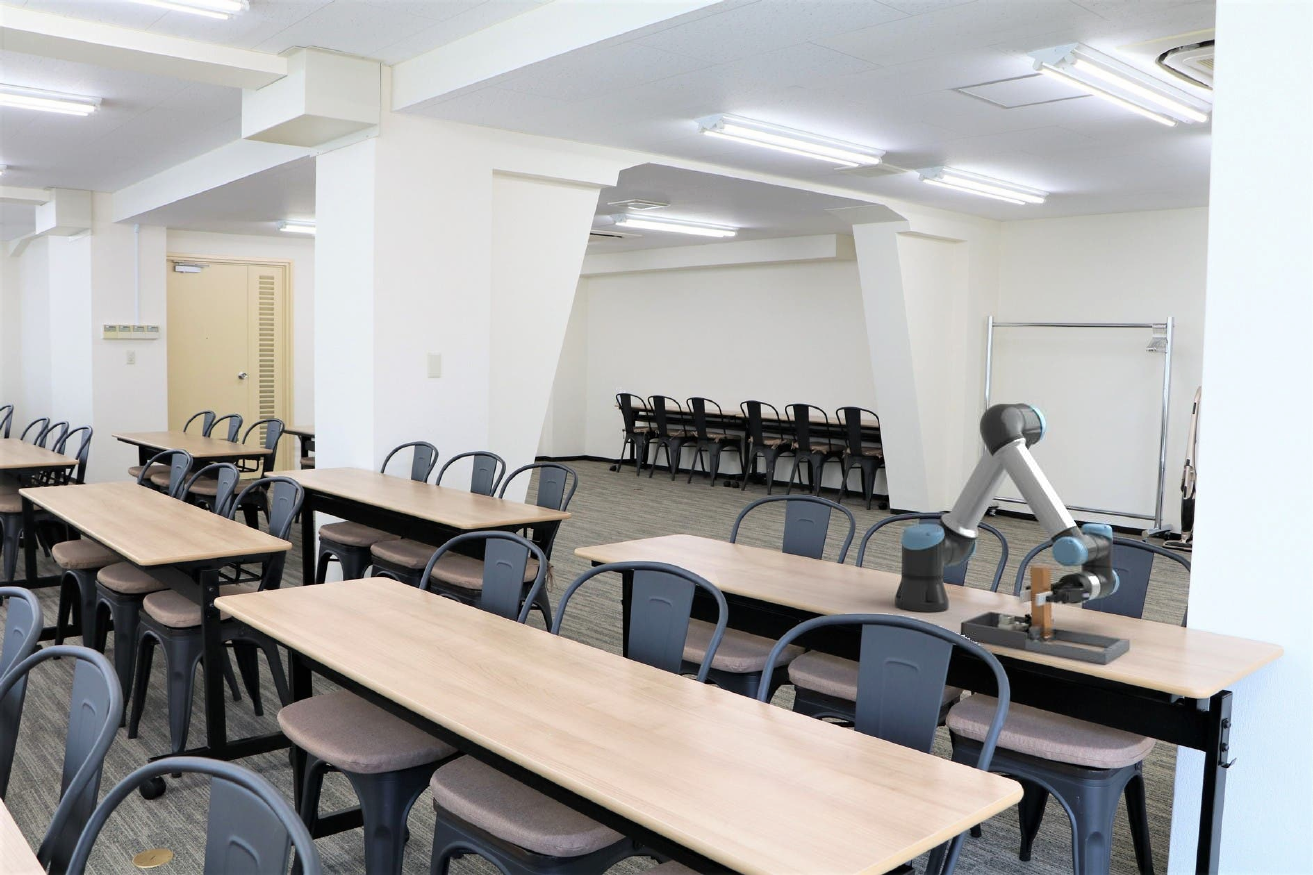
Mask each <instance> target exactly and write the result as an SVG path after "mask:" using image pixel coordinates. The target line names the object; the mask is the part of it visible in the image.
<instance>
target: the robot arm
mask: <svg viewBox="0 0 1313 875" xmlns="http://www.w3.org/2000/svg"><path fill="white" fill-rule="evenodd" d="M979 421H980V422H979V432H980V436H981V440H982V441H983V443H984V445H985V450H984V452H983V453H982V455H981V457H980V458H979V461H978V462H977V464H976V466H975V468H974V469H973V471H972V472H971V475H970V477H969V479H968V480H967V482H966V484H965V485H964V487H963V490H962V491H961V493H960V494H959V496H958V498H957V500H956V502H955V503H954V505H953V507H952V509H951V510H950V512H948V513H944V514H942V515H941V518H940V519H939V521H938V523H937V524H932V523H921V524H914V525H913V524H912V525H910V526H906V528H905V529H904V530H903V531H902V535H901V536H902V537H901V538H902V539H901V578H900V582H899V585H898V588H897V590H896V593H895V596H894V606H895V607H897V608H899V609H902V610H907V611H911V612H922V613H923V612H925V613H928V612H929V613H932V612H935V613H936V612H944V611H946V610H947V611H948V609H949V608H950V607H949V601H950V600H949V597H948V595H947V590H946V587H945V584H944V580H943V578H944V568H946V567H953V566H959V565H962V564H964V563H967V561H969V560H970V559H971V558H972V557H974V555H975V553H976V551H977V547H978V542H977V538H978V536H979V534H980V533H979V530H978V526H979V524H980V523H981V521H982V519H983V518H984V515H985V513H986V512H987V510H988V509H989V507H990V505H991V503H992V502H993V500H994V499H995V497H996V495H997V493H998V491H999V490H1000V488H1001V486H1002V484H1003V482H1004V481H1005V479H1006V477H1007V476H1009V477H1010V479H1011V480H1012V482H1013V483H1014V485H1015V487H1016V488H1017V490H1018V491H1019V493H1020V495H1021V496H1022V499H1024V501H1025V502H1026V504H1027V506H1028V507H1029V508H1030V510H1031V512H1032V513H1033V515H1034V517H1035V518H1036V520H1037V521H1038V522H1039V524H1040V525H1041V528H1042V529H1043V530H1044V532H1045V534H1046V535H1047V537H1048V538H1049V540H1050V541H1051V543H1052V549H1051V551H1052V552H1051V553H1052V556H1053V558H1054V560H1055V561H1056V562H1057V563H1058V565H1060V566H1063V567H1078V566H1081V571H1077V572H1074V573H1069V574H1065V575H1063V576H1062V577H1061V578H1059V580H1058V581H1056V582H1054V583H1051V591H1049V592H1045V593H1040V594H1036V604H1035V606H1041V605H1045V604H1049V603H1051V604H1052V603H1055V604H1058V603H1061V604H1064V605H1066V604H1071V605H1074V604H1079V603H1082V604H1085V603H1086V602H1087V601H1091V600H1094V599H1101V598H1106V597H1107V596H1110V595H1112V594H1115V592H1116V591H1117V590H1118V589H1119V587H1120V579H1119V576H1118V575H1117V572H1116V571H1115V570H1114V568H1113V548H1114V547H1113V541H1114V538H1113V529H1112V527H1111V526H1110V525H1109V524H1104V523H1085V524H1083V525H1081V530H1080V528H1079V527H1078V525H1077V524H1076V522H1075V521H1074V519H1073V517H1072V516H1071V514H1070V513H1069V511H1068V509H1067V508H1066V506H1065V505H1064V504H1063V502H1062V501H1061V498H1060V497H1059V496H1058V494H1057V493H1056V492H1055V490H1054V489H1053V486H1052V485H1051V484H1050V482H1049V480H1048V479H1047V477H1046V476H1045V474H1044V472H1043V471H1042V470H1041V468H1040V467H1039V465H1038V464H1037V462H1036V461H1035V459H1034V457H1033V456H1032V454H1031V453H1030V452H1029V449H1030V448H1031V446H1033V445H1036V444H1037V443H1038V442H1040V441H1041V440H1042V439H1043V438H1044V436H1045V433H1046V430H1047V422H1046V420H1045V417H1044V415H1043V413H1042V412H1041V410H1039V408H1037V407H1035V406H1034V405H1032V404H1027V403H1023V402H1021V403H997V404H994V405H992V406H990V407H988V408H987V409H986V410H985V411H984V413H982V416H981V417H980V420H979ZM1027 602H1031V584H1030V585H1027V586H1025V590H1021V591H1019V603H1020V604H1024V603H1027Z"/></svg>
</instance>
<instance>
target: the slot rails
mask: <svg viewBox="0 0 1313 875" xmlns="http://www.w3.org/2000/svg"><path fill="white" fill-rule="evenodd" d="M1053 640H1060V641H1065V642H1071V643H1077V644H1084V645H1090V646H1096V647H1102V648H1105V649H1103V650H1102V651H1101V650H1095V649H1089V648H1085V647H1084V648H1083V647H1078V646H1071V645H1065V644H1060V643H1054V642H1050V641H1048V642H1043V641H1038V640H1032V639H1030V638H1027V640H1026V646H1025V650H1024V651H1027V652H1035V653H1040V654H1045V655H1049V656H1057V657H1059V658H1061V657H1062V658H1068V659H1073V660H1077V661H1084V662H1088V663H1089V662H1090V663H1094V664H1098V665H1099V664H1100V665H1106V666H1107V665H1108V664H1109V663H1110V662H1113V661H1114V660H1116V659H1117V658H1119V657H1121V656H1122V655H1124V654H1125V653H1127V652H1129V651H1130V650H1131V649H1130V645H1131V640H1130V639H1127V638H1121V637H1114V636H1110V635H1103V634H1096V633H1092V632H1085V631H1078V630H1071V629H1067V628H1066V629H1065V628H1060V627H1054V639H1053Z"/></svg>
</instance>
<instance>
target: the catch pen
mask: <svg viewBox="0 0 1313 875" xmlns="http://www.w3.org/2000/svg"><path fill="white" fill-rule="evenodd" d="M1002 614H1003V613H1002V612H1001V613H1000V612H994V611H988V612H985V613H982V614H980V615H978V616H974V617H971V618H970V619H966V620H964V621H962V622H960V636H961V635H965V637H967V638H970V639H971V640H970V641H973V640H974V641H973V642H979V643H984V644H991V645H996V646H1002V647H1006V648H1013V649H1019V650H1023V651H1026V650H1025V646H1026V640H1027V639H1028V635H1030V634H1029V633H1025V632H1024V630H1023V631H1021V632H1018V631H1012V630H1006V629H1000V628H998V624H999V623H1000V622H999V615H1002ZM1005 614H1006V615H1009V614H1007V613H1005ZM1011 615H1012V616H1014V617H1015V622H1018V623H1022V621H1025V619H1027V618H1025V616H1019V615H1014V614H1011ZM1030 622H1032V619H1031V620H1030Z"/></svg>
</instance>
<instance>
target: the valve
mask: <svg viewBox="0 0 1313 875" xmlns="http://www.w3.org/2000/svg"><path fill="white" fill-rule="evenodd" d="M1001 614H1002V615H999V622H1000V623H999V624H998V628H1000V629H1006V630H1012V631H1018V632H1021V631H1023V630H1024V632H1025V633H1029V628H1030V627H1032V622H1030V620H1031V619H1032V613H1031V612H1030V613H1026V614H1024V617H1025V618H1027V619H1025V621H1022V623H1018V622H1015V617H1014V616H1015V615H1014V616H1012V615H1013V614H1008V615H1006V614H1007V613H1001Z"/></svg>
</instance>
